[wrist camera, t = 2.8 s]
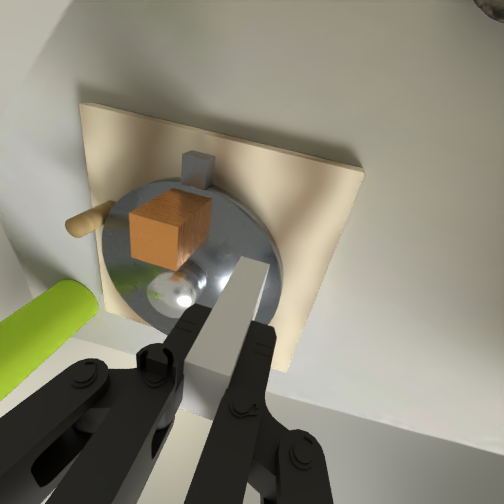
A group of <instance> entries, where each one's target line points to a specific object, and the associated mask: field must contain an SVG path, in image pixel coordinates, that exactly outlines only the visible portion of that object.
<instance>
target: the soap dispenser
mask: <svg viewBox="0 0 504 504" xmlns="http://www.w3.org/2000/svg"><path fill="white" fill-rule="evenodd" d="M97 311H98V303H97V301H96V299H95V297H94V295H93V294H92V293H91V292H90V291H89V290H88V289H87V288H86V287H85V286H84V285H82V284H80V283H78V282H76V281H74V280H68V279H66V280H62V281H60V282H59V283H57V284H56V285H54V286H53V287H51V288H50V289H48V290H47V291H45V292H44V293H42V294H41V295H40V296H38V297H37V298H35V299H34V300H32V301H31V302H29V303H28V304H26V305H25V306H23V307H22V308H21V309H19V310H17V311H16V312H15V313H13V314H12V315H10V316H9V317H7V318H6V319H4V320H3V321H1V322H0V401H2V400H3V399H4V398H5V397H6V396H7V395H8V394H9V393H10V392H11V391H12V390H14V389H15V388H16V387H17V386H18V385H19V384H20V383H21V382H22V381H23V380H24V379H26V378H27V377H28V376H29V375H30V374H31V373H32V372H33V371H34V370H35V369H36V368H38V366H40V365H41V364H42V363H43V362H44V361H45V360H46V359H47V358H48V357H49V356H51V355H52V354H53V353H54V352H55V351H56V350H57V349H58V348H59V347H60V346H62V345H63V344H64V343H65V342H66V341H67V340H68V339H69V338H70V337H71V336H72V335H74V334H75V333H76V332H77V331H78V330H79V329H80V328H81V327H82V326H83V325H84V324H86V323H87V322H88V321H89V320H90V319H91V318H92V317H93V316H94V315H95V314H96V313H97Z"/></svg>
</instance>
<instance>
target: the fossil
mask: <svg viewBox="0 0 504 504" xmlns="http://www.w3.org/2000/svg"><path fill="white" fill-rule="evenodd" d="M474 2H475V3H476V5H477V6H478V7H479V8H481V9H482V10H483V12H484V13H485V14H486V15H488V16H489V17H490V18H492V19H494V20H497V21H499V22H501V23H504V0H474Z"/></svg>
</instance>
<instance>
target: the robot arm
mask: <svg viewBox="0 0 504 504" xmlns="http://www.w3.org/2000/svg"><path fill="white" fill-rule="evenodd" d="M269 265H270V264H267V263H264V262H260V261H257V260H253V259H250V258H246V257H243V256H241V258H240V259H239V261H238V263H237V265H236V267H235V269H234V270H233V272H232V274H231V276H230V278H229V280H228V282H227V283H226V285H225V287H224V289H223V291H222V293H221V294H220V296H219V298H218V300H217V302H216V304H215V305H214V307H213V308H209V307H206V306H203V305H200V304H197V303H194V304H193V305H191V306H190V307H188V308H187V309H185V311H184V312H183V314H182V315H181V317H180V318H179V320H178V321H177V323H176V324H175V326H174V328H173V329H172V330H171V332H170V333H169V335H168V336H167V338H166V339H165V341H164V342H163V344H162V343H155V344H150V345H148V346H146V347H144V348H142V349H141V350H140V351H139V352H138V353H137V354H136V360H137V368H133V369H108V366H107V365H106V364H105V363H104V361H101V360H99V359H93V358H91V359H90V358H88V359H84V360H80V361H78V362H76V363H74V364H72V365H71V366H69V367H68V368H67V369H65V370H64V371H63V372H61V373H60V374H58V375H57V376H56V377H54V378H53V379H52V380H50V381H49V382H48V383H46V384H45V385H44V386H42V387H41V388H40V389H39V390H37V391H36V392H35V393H33V394H32V395H30V396H29V397H28V398H26V399H25V400H24V401H22V402H21V403H20V404H18V405H17V406H16V407H14V408H13V409H12V410H10V411H9V412H8V413H6V414H5V415H4V416H2V417H1V418H0V504H41V503H42V502H43V500H44V499H45V498H46V497H47V496H48V495H49V494H50V493H51V492H52V491H53V490H54V489H55V488H56V489H55V490H54V491H53V493H52V494H51V496H50V497H49V499H48V500H47V502H46V503H45V504H136V503H137V501H138V499H139V497H140V495H141V493H142V491H143V489H144V486H145V484H146V482H147V480H148V478H149V475H150V474H151V472H152V469H153V467H154V465H155V463H156V461H157V459H158V457H159V454H160V452H161V450H162V448H163V446H164V444H165V442H166V440H167V437H168V435H169V433H170V431H171V429H172V427H173V423H174V419H175V414H176V412H177V410H178V407H179V405H180V403H181V409H182V410H185V411H188V412H191V413H193V414H196V415H199V416H202V417H205V418H207V419H210V420H213V423H212V426H211V429H210V432H209V434H208V437H207V440H206V443H205V446H204V448H203V451H202V454H201V457H200V460H199V463H198V465H197V468H196V471H195V473H194V476H193V479H192V482H191V485H190V487H189V490H188V493H187V496H186V499H185V501H184V504H243V499H244V494H245V490H246V485H247V482H248V483H249V484H250V485H251V486H252V487H253V488H255V490H257V491H258V492H259V493H260V499H261V500H260V501H261V502H260V503H261V504H333V498H332V493H331V488H330V482H329V477H328V471H327V466H326V461H325V456H324V453H323V450H322V447H321V446H320V444H319V443H318V442H317V440H316V439H315V437H313V436H312V435H311V434H309V433H308V432H306V431H303V430H300V429H296V430H290V431H289V430H288V429H287V428H286V427H284V426H283V425H282V424H280V423H279V422H278V421H277V420H276V419H275V418H274V417H272V415H271V414H270V412H269V411H268V408H267V406H266V403H265V391H266V386H267V382H268V377H269V372H270V368H271V363H272V358H273V354H274V349H275V345H276V340H277V336H276V332H275V328H274V327H272V326H269V325H266V324H263V323H260V322H256V321H254V319H255V316H256V313H257V310H258V307H259V304H260V300H261V296H262V292H263V289H264V285H265V281H266V277H267V273H268V269H269Z"/></svg>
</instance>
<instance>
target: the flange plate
mask: <svg viewBox="0 0 504 504" xmlns="http://www.w3.org/2000/svg"><path fill="white" fill-rule="evenodd" d="M215 160H216V156H213V155H210V154H206V153H202V152H198V151H194V150H191V151H188V152H186V153H183V154H182V169H181V178H177V177H175V178H163V179H160V180H156V181H152V182H150V183H147V184H145V185H143V186H141V187H139V188H136V189H134V190H132V191H130V192H129V193H127V194H126V195H124V196H123V197H122V198H120V199H119V200H118V201H117V202H116V203H115V204H114V206H113V207H112V209H111V210H110V212H109V213H108V216H107V218H106V220H105V223H104V227H103V231H102V254H103V259H104V263H105V266H106V269H107V272H108V274H109V277H110V279H111V281H112V283H113V285H114V286H115V288H116V290H117V291H118V293H119V294H120V296H121V297H122V298H123V300H124V301H125V302H126V303H127V304H128V306H129V307H130V308H131V309H132V310H133V311H134V312H135V313H136V314H137V315H138V316H140V317H141V318H142V319H143V320H144V321H146V322H147V323H148V324H150V325H151V326H153V327H154V328H156V329H157V330H159V331H161V332H162V333H164V334H166V335H169V333H170V332H171V330H172V329H173V328H174V326H175V324H176V323H177V321H178V320H179V318H180V317H181V315H182V314H183V312H184V311H185V309H187V308H188V307H190V306H191V305H193V304H194V303H197V304H200V305H203V306H206V307H209V308H213V307H214V305H215V304H216V302H217V300H218V298H219V296H220V294H221V293H222V291H223V289H224V287H225V285H226V283H227V282H228V280H229V278H230V276H231V274H232V272H233V270H234V269H235V267H236V265H237V263H238V261H239V259H240V258H241V256H243V257H246V258H250V259H253V260H257V261H260V262H264V263H267V264H270V265H269V269H268V273H267V277H266V281H265V285H264V289H263V292H262V296H261V300H260V304H259V307H258V310H257V313H256V316H255V319H254V321H256V322H260V323H263V324H266V325H268V324H269V323H270V322H271V320H272V319H273V317H274V315H275V313H276V310H277V308H278V305H279V301H280V297H281V293H282V289H283V280H284V272H283V263H282V259H281V255H280V252H279V249H278V247H277V244H276V242H275V240H274V238H273V236H272V235H271V233H270V231H269V229H268V228H267V227H266V225H265V224H264V223H263V221H262V220H261V219H260V218H259V216H258V215H257V214H256V213H255V212H254V211H253V210H252V209H251V208H250V207H249V206H247V205H246V204H245V203H244V202H242V201H241V200H240V199H239V198H237V197H236V196H234V195H232V194H231V193H229V192H228V191H226V190H224V189H222V188H219V187H217V186H215V185H213V178H214V169H215Z"/></svg>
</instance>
